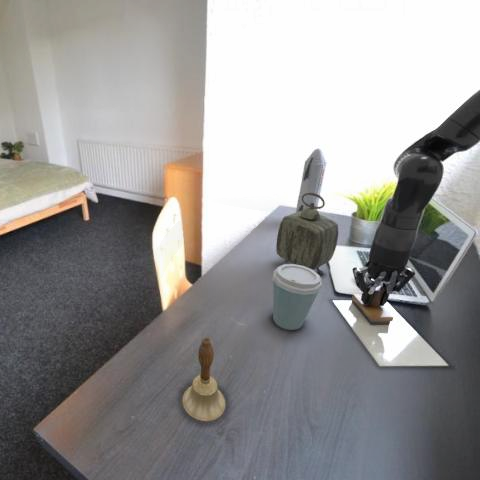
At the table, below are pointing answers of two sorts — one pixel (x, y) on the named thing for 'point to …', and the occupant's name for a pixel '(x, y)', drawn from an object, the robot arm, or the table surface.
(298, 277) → the disposable coffee cup
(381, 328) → the tile
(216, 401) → the hand bell
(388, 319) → the stamp
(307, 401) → the table surface
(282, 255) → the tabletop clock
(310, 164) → the rocket model
